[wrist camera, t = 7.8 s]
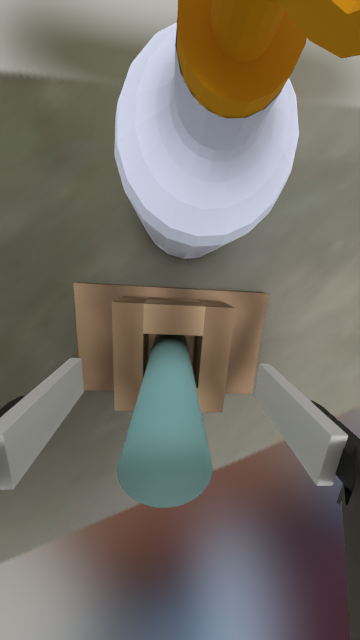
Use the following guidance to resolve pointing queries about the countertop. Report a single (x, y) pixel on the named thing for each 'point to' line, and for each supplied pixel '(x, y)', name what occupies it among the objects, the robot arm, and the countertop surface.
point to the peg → (166, 431)
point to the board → (103, 334)
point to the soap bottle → (219, 115)
